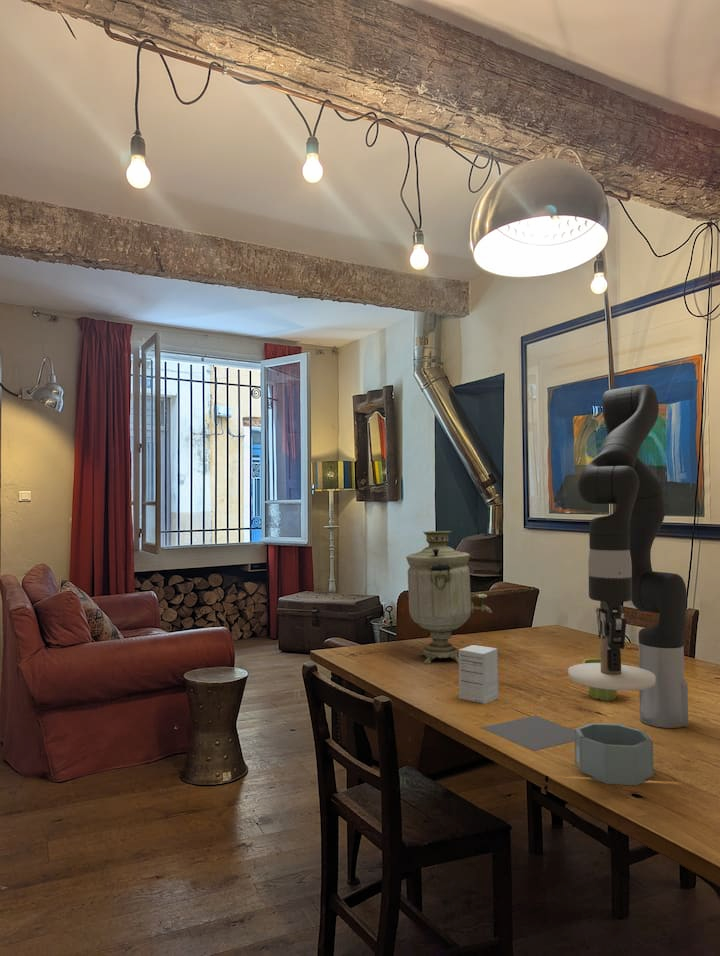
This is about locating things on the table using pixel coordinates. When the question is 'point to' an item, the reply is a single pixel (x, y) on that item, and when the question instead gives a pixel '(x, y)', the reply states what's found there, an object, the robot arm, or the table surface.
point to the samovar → (440, 593)
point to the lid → (611, 674)
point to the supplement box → (478, 674)
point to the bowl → (614, 753)
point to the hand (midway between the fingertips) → (611, 667)
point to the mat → (533, 732)
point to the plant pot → (598, 692)
